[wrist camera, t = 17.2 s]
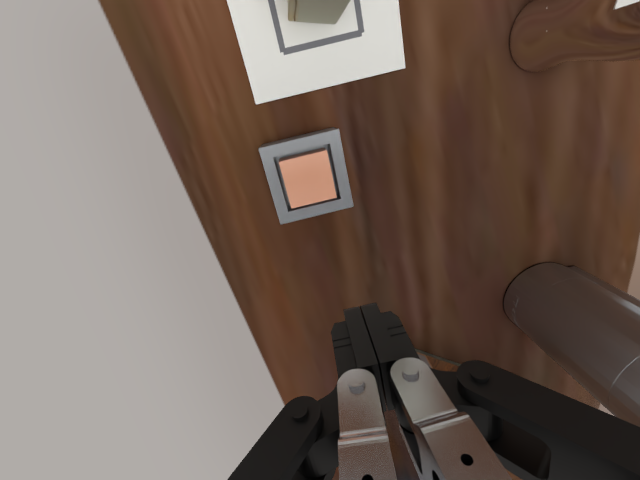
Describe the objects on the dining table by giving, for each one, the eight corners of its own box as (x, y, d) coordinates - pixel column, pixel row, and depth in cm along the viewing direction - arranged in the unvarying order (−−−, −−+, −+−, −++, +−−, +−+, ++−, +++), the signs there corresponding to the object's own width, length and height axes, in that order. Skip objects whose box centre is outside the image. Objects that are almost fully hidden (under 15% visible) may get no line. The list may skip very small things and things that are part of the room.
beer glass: (576, -24, 27) (870, -167, 14) (578, 62, 30) (826, 15, 16) (499, 6, 28) (710, -104, 14) (508, 88, 30) (693, 65, 16)
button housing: (332, 127, 30) (338, 128, 26) (346, 196, 33) (353, 206, 29) (262, 144, 30) (258, 148, 26) (281, 212, 33) (280, 224, 29)
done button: (323, 147, 29) (326, 150, 26) (333, 191, 30) (336, 197, 28) (279, 158, 29) (278, 161, 26) (291, 201, 30) (291, 208, 28)
